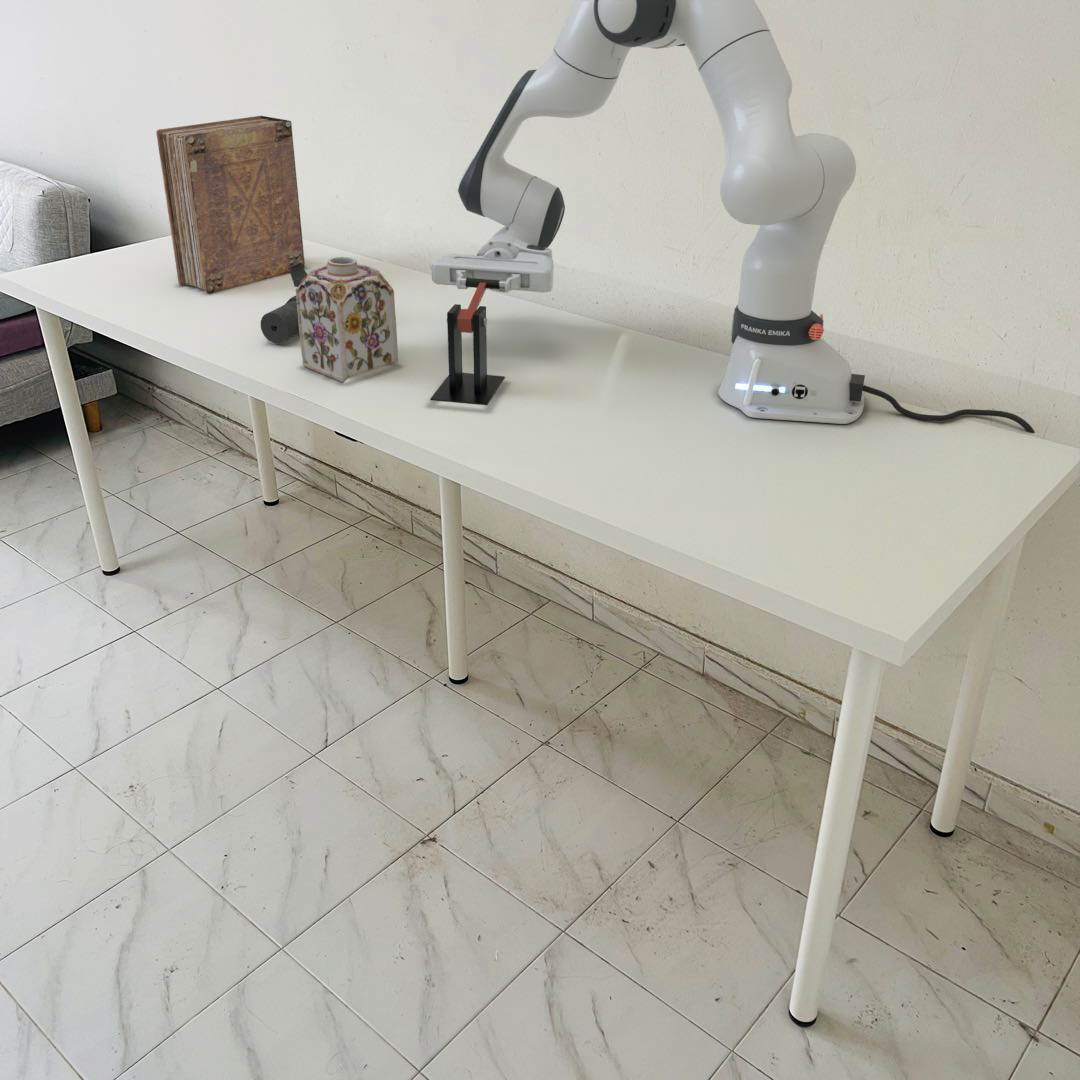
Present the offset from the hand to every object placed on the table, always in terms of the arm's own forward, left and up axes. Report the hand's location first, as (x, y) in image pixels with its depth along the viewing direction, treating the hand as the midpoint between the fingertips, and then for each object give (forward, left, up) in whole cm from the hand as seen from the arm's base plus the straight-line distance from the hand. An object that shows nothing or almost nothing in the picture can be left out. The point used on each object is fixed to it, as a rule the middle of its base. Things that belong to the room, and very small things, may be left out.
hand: (482, 285), depth 174 cm
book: (+68, -33, -15) cm, 77 cm away
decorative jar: (+22, +6, -15) cm, 27 cm away
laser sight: (+39, -10, -15) cm, 43 cm away
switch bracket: (-1, +10, -15) cm, 18 cm away
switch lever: (-1, +4, -3) cm, 5 cm away
